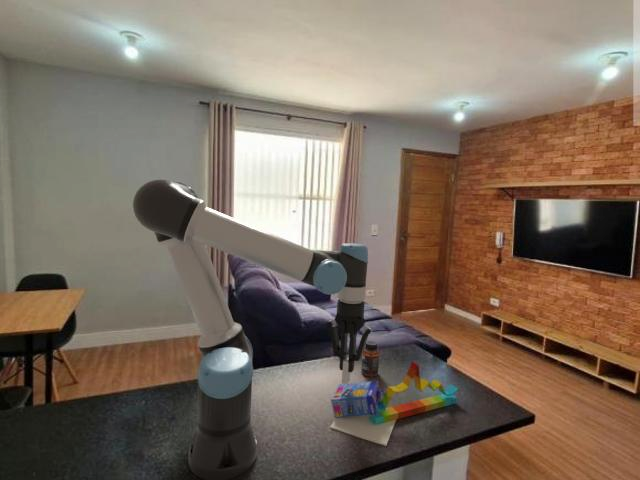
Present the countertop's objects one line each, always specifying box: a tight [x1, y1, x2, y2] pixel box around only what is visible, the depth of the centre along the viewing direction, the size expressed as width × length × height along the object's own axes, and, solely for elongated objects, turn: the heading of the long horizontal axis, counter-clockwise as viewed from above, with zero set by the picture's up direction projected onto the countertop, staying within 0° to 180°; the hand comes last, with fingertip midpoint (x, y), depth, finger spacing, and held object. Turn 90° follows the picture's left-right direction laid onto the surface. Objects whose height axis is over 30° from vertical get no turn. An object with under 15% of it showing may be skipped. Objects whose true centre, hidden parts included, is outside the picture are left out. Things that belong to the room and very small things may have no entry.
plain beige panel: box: [329, 415, 397, 447], centre depth 97 cm, size 15×16×1 cm
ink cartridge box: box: [330, 380, 386, 419], centre depth 99 cm, size 10×6×14 cm
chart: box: [369, 361, 459, 425], centre depth 101 cm, size 30×3×15 cm, turn 117°
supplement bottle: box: [360, 340, 380, 377], centre depth 124 cm, size 6×6×11 cm
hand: (345, 381), depth 98 cm, fingers closed
